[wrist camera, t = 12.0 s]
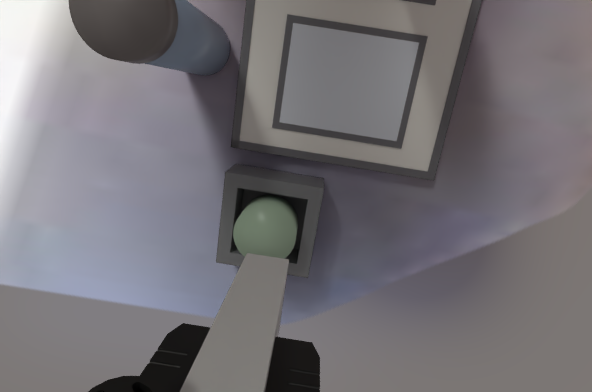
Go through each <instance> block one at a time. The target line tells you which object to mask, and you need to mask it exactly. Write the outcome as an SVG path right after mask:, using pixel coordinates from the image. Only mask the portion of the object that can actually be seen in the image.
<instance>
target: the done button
mask: <svg viewBox="0 0 592 392" xmlns="http://www.w3.org/2000/svg"><path fill="white" fill-rule="evenodd" d="M297 229H298V217H297V214H296V211H295V210H294V208H293V206H292V205H291V204H290V203H289V202H288V201H286V200H285V199H283V198H281V197H278V196H275V195H262V196H259V197H257V198H255V199H253V200H252V201H250V202H249V203H248V204H247V206H246V207H245V209H244V210H243V212H242V213H241V215H240V216H239V217H238V219H237V221H236V223H235V225H234V230H233V237H234V242H235V245H236V247H237V249H238V250H239V252H240V253H241V254H242V255H243V256H244V257H245V256H246V254H247V253H251V254H257V255H264V256H270V257H277V258H283V259H285V258H286V257H287V256H288V255H289V254H290V253H291V251H292V250H293V248H294V245H295V241H296V235H297Z"/></svg>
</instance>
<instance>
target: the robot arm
mask: <svg viewBox="0 0 592 392" xmlns="http://www.w3.org/2000/svg"><path fill="white" fill-rule="evenodd" d="M288 264H289V259H283V258H277V257H270V256H264V255H257V254H251V253H247V254H246V256H245V258H244V260H243V262H242V264H241V266H240V268H239V270H238V272H237V274H236V276H235V279H234V281H233V283H232V285H231V287H230V289H229V291H228V293H227V295H226V297H225V299H224V301H223V303H222V305H221V307H220V310H219V312H218V314H217V316H216V318H215V320H214V322H213V324H212V326H211V328H209V327H203V326H196V325H190V324H184V323H183V324H181V325H180V326H178V327H177V328H175V329H174V330H173V331H171V332H170V333H168V334H167V336H166V337H165V338H164V340H163V342H162V343H161V345H160V346H159V348H158V351H156V352H155V354H154V355H153V357H152V358H151V360H150V363H149V364H147V366H146V367H145V369H144V370H143V372H142V373H141V375H140V376H122V377H118V378H114V379H110V380H107V381H105V382H103V383H101V384H99V385H97V386H95V387H94V388H92V389H91V390H90V391H89V392H320V390H319V389H320V376H319V375H320V357H319V355H318V353H317V351H316V349H315V347H314V346H313V344H312V342H305V341H299V340H292V339H286V338H280V337H278V333H279V327H280V320H281V313H282V306H283V299H284V292H285V285H286V278H287V271H288Z"/></svg>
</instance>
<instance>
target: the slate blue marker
mask: <svg viewBox="0 0 592 392" xmlns="http://www.w3.org/2000/svg"><path fill="white" fill-rule="evenodd" d="M69 9H70V14H71V18H72V21H73V23H74V26H75V28H76V30H77V32H78V33H79V35H80V36H81V38H82V39H83V40H84V41H85V43H86V44H87V45H88V46H89V47H90V48H92V49H93V50H94V51H96V52H97V53H99V54H101V55H102V56H105V57H107V58H110V59H114V60H119V61H124V62H129V63H137V64H140V63H145V64H150V65H155V66H160V67H164V68H169V69H174V70H179V71H184V72H188V73H193V74H198V75H212V74H215V73H217V72H218V71H220V70H221V69H222V68H223V67H224V66H225V64H226V62H227V60H228V57H229V53H230V44H229V40H228V37H227V35H226V33H225V31H224V30H223V28H222V27H221V26H220V25H219V24H217V23H216V22H215V21H213V20H212V19H211V18H209V17H208V16H207V15H205V14H204V13H203V12H201V11H200V10H199V9H197V8H196V7H195V6H193V5H192V4H191V3H189V2H188V1H187V0H69Z"/></svg>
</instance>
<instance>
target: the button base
mask: <svg viewBox="0 0 592 392" xmlns="http://www.w3.org/2000/svg"><path fill="white" fill-rule="evenodd" d="M323 192H324V179H323V178H318V177H312V176H306V175H300V174H294V173H288V172H282V171H276V170H270V169H264V168H258V167H252V166H246V165H240V164H235V165H234V166H233V167H231V168H230V169H229V170H227V171H226V172H225V180H224V190H223V200H222V209H221V219H220V228H219V238H218V248H217V257H216V262H217V263H223V264H229V265H235V266H241V264H242V262H243V260H244V258H245V257H244V256H243V255H242V254H241V253H240V252H239V250H238V249H237V247H236V245H235V242H234V237H233V230H234V225H235V223H236V221H237V219H238V217H239V216H240V215H241V213H242V212H243V210H244V209H245V207H246V206H247V204H248V203H249V202H250V201H252V200H253V199H255V198H257V197H259V196H262V195H275V196H278V197H281V198H283V199H285V200H286V201H288V202H289V203H290V204H291V205H292V206H293V208H294V210H295V211H296V214H297V217H298V229H297V235H296V241H295V245H294V248H293V250H292V251H291V253H290V254H289V255H288V256H287V257H286V258H285V259H289V264H288V271H287V274H288V275H294V276H300V277H305V278H308V274H309V269H310V263H311V258H312V252H313V247H314V241H315V236H316V230H317V225H318V219H319V214H320V208H321V203H322V197H323Z"/></svg>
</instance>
